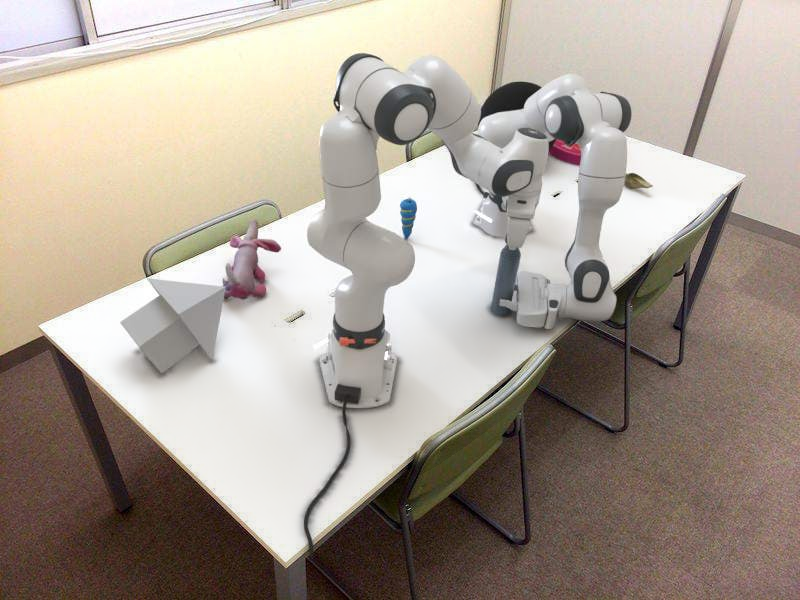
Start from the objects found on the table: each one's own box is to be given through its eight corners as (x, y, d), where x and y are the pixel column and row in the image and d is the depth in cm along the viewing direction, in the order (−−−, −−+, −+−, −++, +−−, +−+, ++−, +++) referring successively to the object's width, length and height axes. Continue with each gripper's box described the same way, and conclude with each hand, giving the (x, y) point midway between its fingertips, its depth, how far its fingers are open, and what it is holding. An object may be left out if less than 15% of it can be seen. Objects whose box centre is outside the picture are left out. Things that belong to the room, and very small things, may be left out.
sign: (588, 172, 247) (635, 153, 263) (590, 164, 245) (637, 145, 261) (529, 144, 265) (575, 128, 281) (530, 136, 263) (577, 120, 278)
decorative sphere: (465, 170, 243) (475, 91, 225) (481, 139, 266) (491, 65, 248) (546, 185, 237) (563, 105, 219) (556, 152, 260) (571, 77, 242)
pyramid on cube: (256, 326, 161) (227, 278, 148) (174, 389, 154) (136, 344, 140) (223, 293, 171) (193, 245, 157) (145, 351, 164) (106, 305, 150)
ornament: (395, 240, 203) (397, 197, 194) (403, 233, 207) (405, 190, 198) (410, 245, 201) (413, 202, 192) (417, 237, 205) (420, 195, 196)
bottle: (486, 307, 179) (499, 235, 165) (501, 301, 181) (515, 230, 167) (498, 317, 176) (512, 245, 162) (513, 312, 178) (528, 240, 164)
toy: (299, 270, 187) (288, 223, 179) (243, 315, 171) (228, 266, 163) (250, 258, 196) (238, 213, 188) (193, 300, 180) (176, 253, 172)
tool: (597, 174, 249) (599, 163, 246) (610, 171, 251) (612, 160, 248) (638, 197, 232) (641, 185, 229) (652, 193, 234) (655, 182, 231)
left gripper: (509, 173, 165) (501, 220, 174) (506, 213, 149) (498, 263, 158) (534, 176, 165) (525, 223, 173) (534, 217, 149) (524, 267, 157)
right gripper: (552, 268, 180) (502, 262, 182) (556, 314, 164) (501, 307, 165) (548, 287, 184) (498, 281, 185) (551, 333, 168) (497, 326, 169)
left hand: (512, 243), depth 165 cm, fingers closed on cap, 4 cm apart
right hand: (499, 294), depth 175 cm, fingers closed on bottle, 5 cm apart
